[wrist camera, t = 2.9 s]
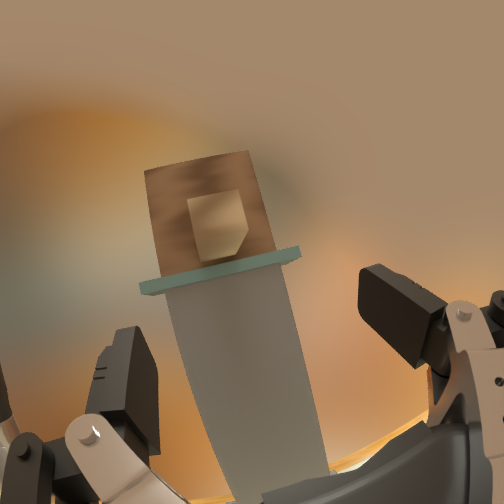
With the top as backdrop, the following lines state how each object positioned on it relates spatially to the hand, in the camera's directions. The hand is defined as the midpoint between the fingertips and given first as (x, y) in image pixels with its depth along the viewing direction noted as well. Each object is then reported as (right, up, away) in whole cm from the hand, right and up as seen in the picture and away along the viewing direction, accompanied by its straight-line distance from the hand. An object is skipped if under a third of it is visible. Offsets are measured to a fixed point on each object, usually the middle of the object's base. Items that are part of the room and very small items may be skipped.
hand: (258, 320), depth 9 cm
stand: (+4, -28, +12) cm, 31 cm away
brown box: (-3, +2, +12) cm, 13 cm away
